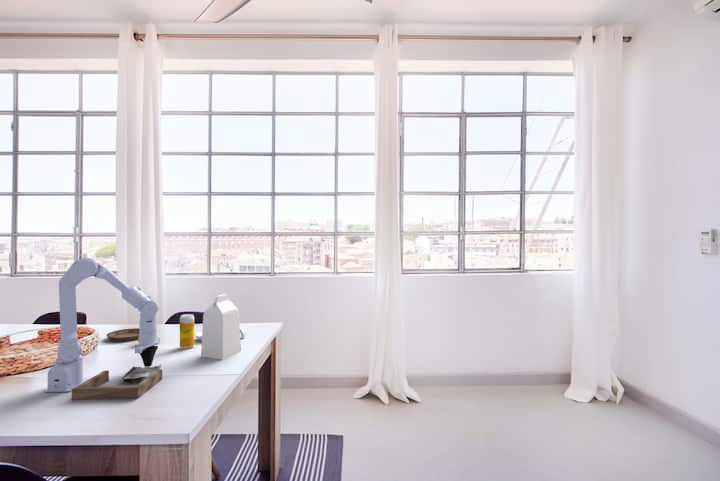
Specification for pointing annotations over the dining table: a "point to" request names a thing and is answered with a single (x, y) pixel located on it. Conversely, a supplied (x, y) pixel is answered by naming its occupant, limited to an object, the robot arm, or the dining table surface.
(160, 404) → the dining table surface
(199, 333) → the spoon rest
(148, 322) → the robot arm
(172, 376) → the dining table surface
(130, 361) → the dining table surface
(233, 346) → the milk
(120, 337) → the plant saucer
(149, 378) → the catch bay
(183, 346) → the yellow bottle
